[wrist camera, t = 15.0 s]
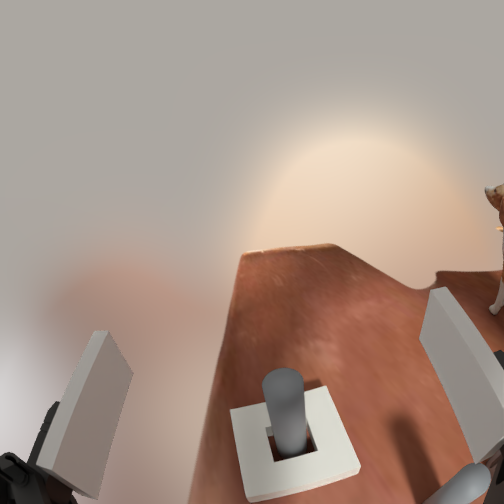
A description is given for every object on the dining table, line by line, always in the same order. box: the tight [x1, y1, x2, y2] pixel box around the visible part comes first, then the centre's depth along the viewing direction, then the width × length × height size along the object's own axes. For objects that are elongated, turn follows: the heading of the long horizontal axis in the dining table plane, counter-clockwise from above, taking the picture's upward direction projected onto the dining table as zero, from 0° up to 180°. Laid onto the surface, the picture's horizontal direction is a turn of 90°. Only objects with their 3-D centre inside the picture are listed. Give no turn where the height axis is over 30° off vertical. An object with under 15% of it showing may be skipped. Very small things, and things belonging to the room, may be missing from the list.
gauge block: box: [230, 386, 361, 503], centre depth 35 cm, size 14×14×3 cm
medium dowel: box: [422, 463, 491, 504], centre depth 19 cm, size 4×4×12 cm
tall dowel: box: [262, 368, 307, 460], centre depth 32 cm, size 4×4×16 cm
